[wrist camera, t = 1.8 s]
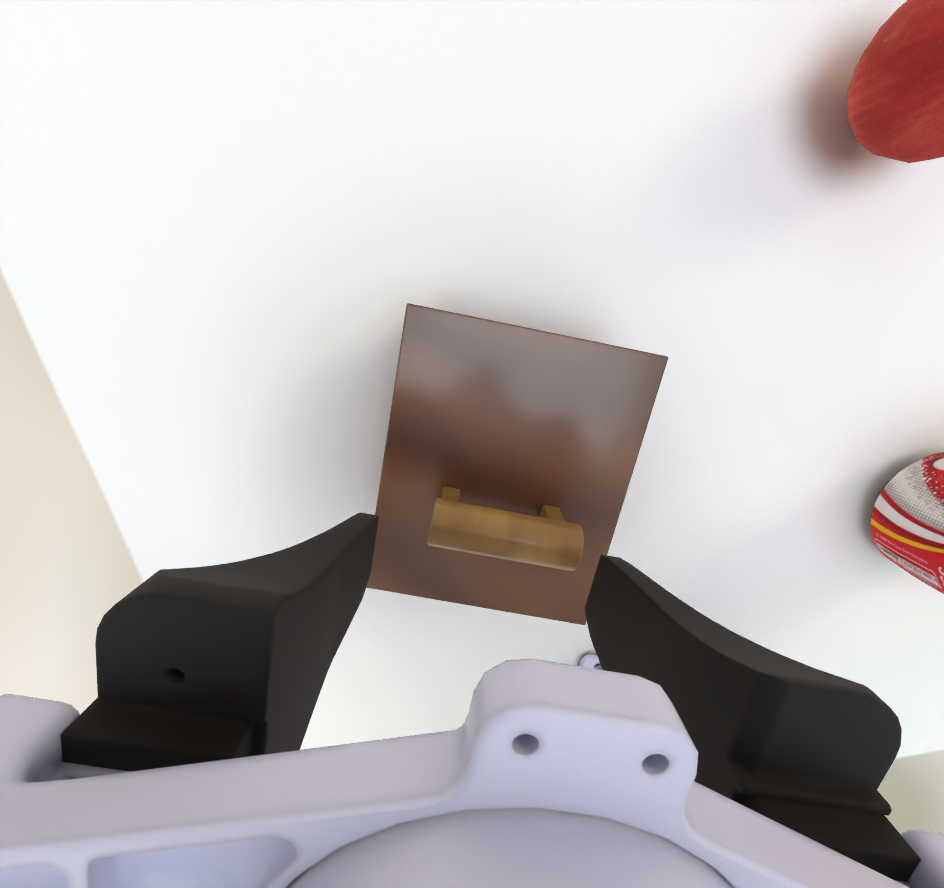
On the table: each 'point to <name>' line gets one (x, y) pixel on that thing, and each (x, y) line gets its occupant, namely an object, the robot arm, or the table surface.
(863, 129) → the onion
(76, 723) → the robot arm
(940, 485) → the soda can
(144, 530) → the table surface
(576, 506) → the bin lid
